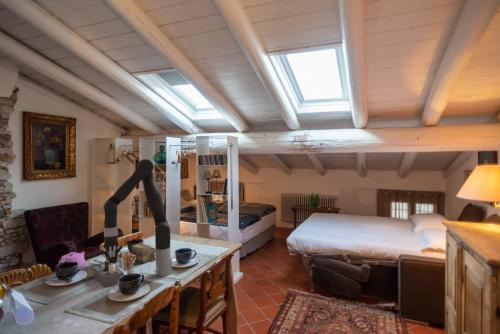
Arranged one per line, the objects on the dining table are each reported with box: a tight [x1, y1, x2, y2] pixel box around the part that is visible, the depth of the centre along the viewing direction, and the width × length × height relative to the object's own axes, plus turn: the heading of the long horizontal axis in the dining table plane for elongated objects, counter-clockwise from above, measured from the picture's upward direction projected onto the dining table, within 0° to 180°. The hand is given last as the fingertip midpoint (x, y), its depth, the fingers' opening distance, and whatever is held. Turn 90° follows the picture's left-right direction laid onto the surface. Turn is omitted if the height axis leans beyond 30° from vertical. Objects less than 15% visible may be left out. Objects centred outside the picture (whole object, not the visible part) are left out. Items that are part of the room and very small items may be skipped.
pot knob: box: [103, 260, 111, 272], centre depth 189 cm, size 4×4×6 cm
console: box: [92, 263, 124, 288], centre depth 190 cm, size 11×22×6 cm, turn 43°
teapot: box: [58, 251, 86, 271], centre depth 202 cm, size 20×12×13 cm, turn 165°
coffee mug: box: [100, 249, 118, 265], centre depth 218 cm, size 12×9×10 cm
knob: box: [109, 263, 116, 275], centre depth 184 cm, size 4×4×6 cm
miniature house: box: [131, 243, 156, 265], centre depth 221 cm, size 15×14×11 cm
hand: (111, 262), depth 184 cm, fingers closed
